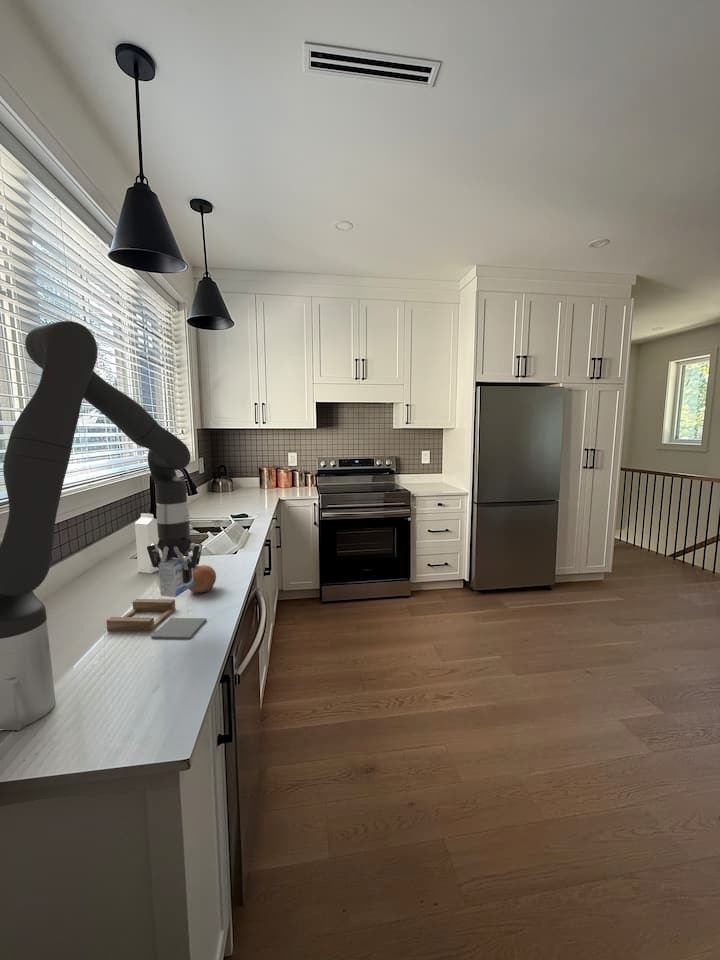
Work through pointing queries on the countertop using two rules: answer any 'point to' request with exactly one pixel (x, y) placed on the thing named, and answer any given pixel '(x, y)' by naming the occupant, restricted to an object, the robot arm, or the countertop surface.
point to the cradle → (142, 623)
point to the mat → (179, 628)
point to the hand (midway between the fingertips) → (177, 582)
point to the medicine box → (173, 578)
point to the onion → (203, 578)
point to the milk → (146, 541)
